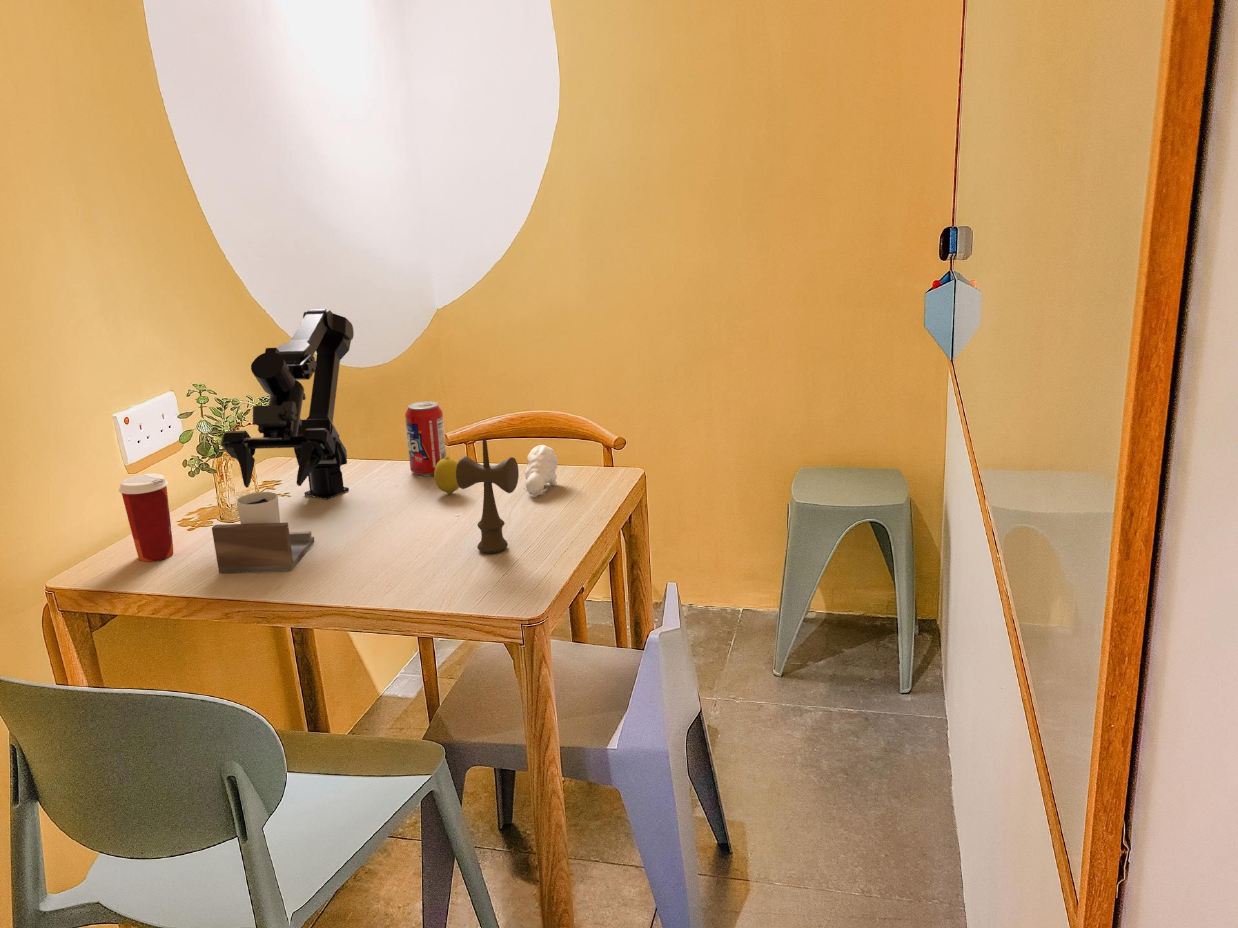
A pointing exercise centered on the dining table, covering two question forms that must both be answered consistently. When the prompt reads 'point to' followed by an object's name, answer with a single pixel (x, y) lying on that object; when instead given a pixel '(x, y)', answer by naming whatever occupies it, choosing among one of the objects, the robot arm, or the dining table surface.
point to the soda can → (425, 437)
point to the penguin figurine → (540, 469)
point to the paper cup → (148, 515)
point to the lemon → (446, 475)
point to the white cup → (258, 508)
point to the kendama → (489, 494)
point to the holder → (259, 547)
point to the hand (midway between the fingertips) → (272, 485)
